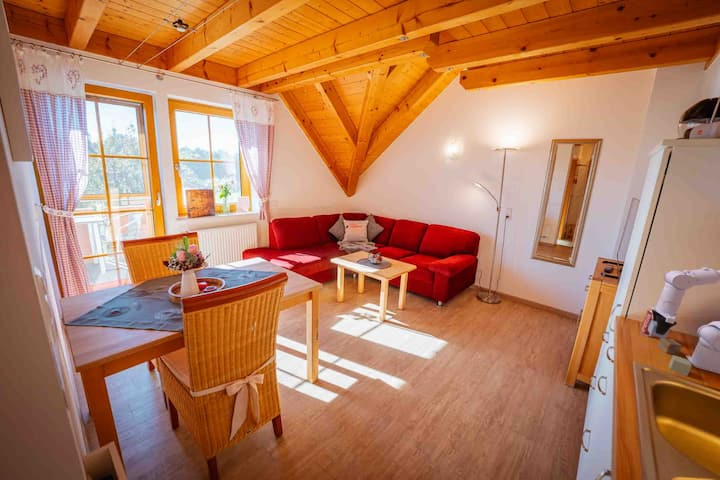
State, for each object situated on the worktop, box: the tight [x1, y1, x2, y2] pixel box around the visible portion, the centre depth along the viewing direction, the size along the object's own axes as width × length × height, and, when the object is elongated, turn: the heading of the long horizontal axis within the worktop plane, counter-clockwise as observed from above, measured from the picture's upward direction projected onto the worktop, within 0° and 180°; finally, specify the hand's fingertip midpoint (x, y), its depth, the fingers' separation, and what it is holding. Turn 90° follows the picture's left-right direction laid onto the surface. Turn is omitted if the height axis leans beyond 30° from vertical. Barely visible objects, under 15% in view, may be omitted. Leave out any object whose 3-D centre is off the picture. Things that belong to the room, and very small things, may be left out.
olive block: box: [668, 354, 692, 377], centre depth 110 cm, size 4×4×4 cm
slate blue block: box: [648, 320, 671, 339], centre depth 117 cm, size 4×4×4 cm
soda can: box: [639, 308, 655, 338], centre depth 132 cm, size 5×5×12 cm
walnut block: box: [656, 337, 683, 356], centre depth 122 cm, size 4×4×4 cm
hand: (657, 331), depth 117 cm, fingers closed on slate blue block, 4 cm apart
